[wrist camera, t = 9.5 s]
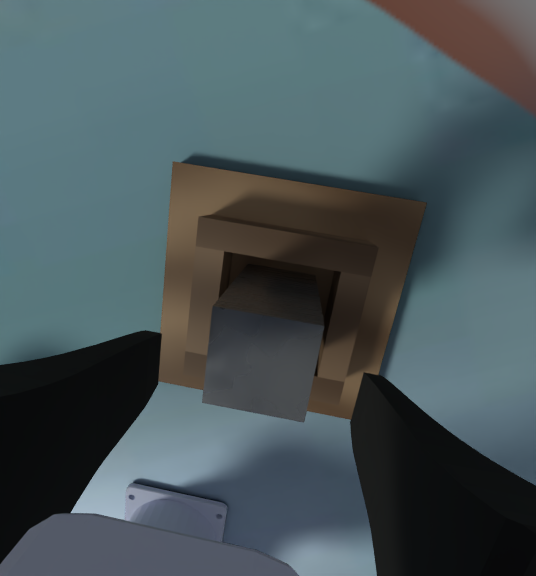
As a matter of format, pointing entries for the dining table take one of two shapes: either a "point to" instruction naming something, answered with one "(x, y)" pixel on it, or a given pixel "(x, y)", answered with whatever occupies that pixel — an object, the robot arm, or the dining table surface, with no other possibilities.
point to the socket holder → (286, 268)
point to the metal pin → (265, 343)
